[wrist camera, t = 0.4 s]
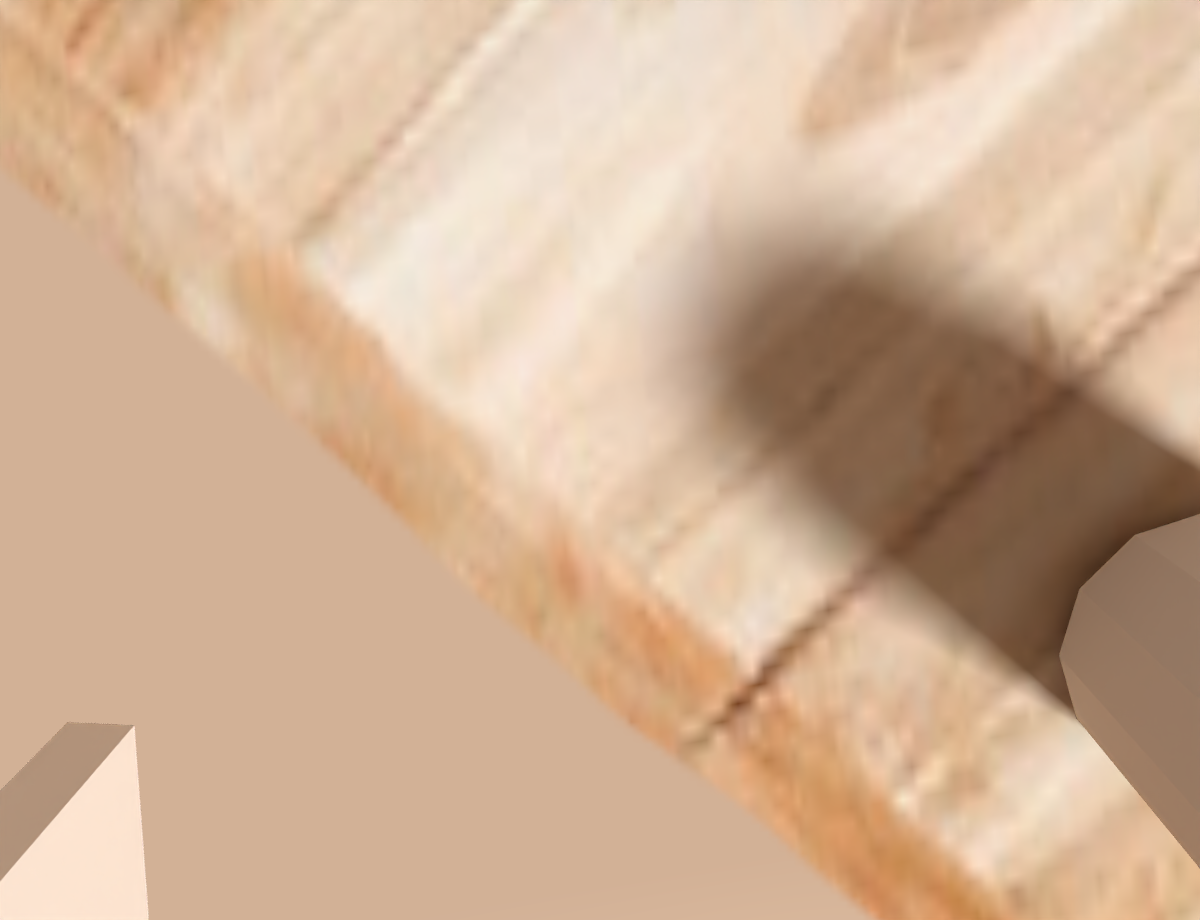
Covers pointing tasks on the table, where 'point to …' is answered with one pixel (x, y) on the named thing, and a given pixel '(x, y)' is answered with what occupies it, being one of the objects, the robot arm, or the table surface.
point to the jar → (1145, 670)
